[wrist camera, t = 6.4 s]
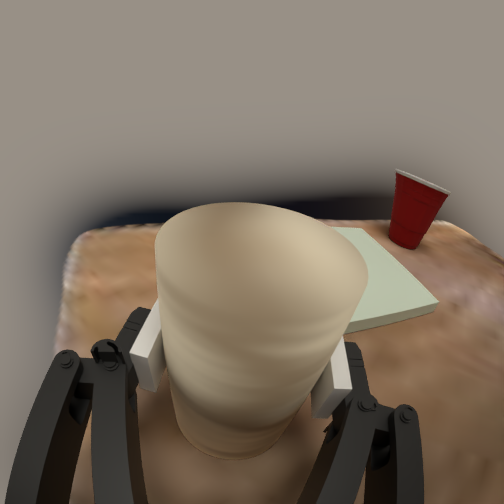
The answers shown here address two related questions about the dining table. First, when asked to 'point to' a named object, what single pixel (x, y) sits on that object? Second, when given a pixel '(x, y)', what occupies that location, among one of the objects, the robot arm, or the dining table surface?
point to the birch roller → (250, 318)
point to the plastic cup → (414, 208)
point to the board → (385, 287)
